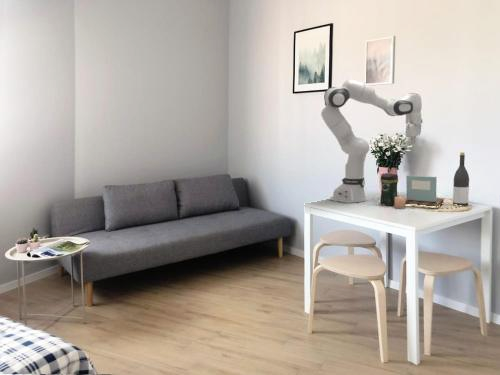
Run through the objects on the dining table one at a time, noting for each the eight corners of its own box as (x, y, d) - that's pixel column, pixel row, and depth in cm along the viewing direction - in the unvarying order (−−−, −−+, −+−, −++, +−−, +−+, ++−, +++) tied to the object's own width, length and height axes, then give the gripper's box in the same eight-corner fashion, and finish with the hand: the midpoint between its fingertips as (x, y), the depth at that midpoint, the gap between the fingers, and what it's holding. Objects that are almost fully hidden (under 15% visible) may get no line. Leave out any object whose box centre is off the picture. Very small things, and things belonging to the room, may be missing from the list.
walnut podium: (404, 206, 267) (404, 193, 266) (411, 201, 280) (412, 188, 279) (436, 209, 257) (437, 195, 256) (443, 203, 270) (443, 190, 269)
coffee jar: (400, 204, 271) (400, 173, 268) (391, 206, 267) (392, 174, 264) (386, 202, 279) (387, 171, 276) (378, 204, 275) (378, 173, 272)
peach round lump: (395, 208, 261) (395, 198, 260) (393, 206, 267) (394, 196, 266) (406, 209, 260) (406, 198, 259) (404, 206, 266) (404, 196, 265)
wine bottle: (458, 206, 261) (460, 153, 256) (449, 203, 269) (451, 152, 264) (471, 205, 263) (473, 152, 258) (462, 202, 271) (464, 151, 266)
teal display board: (407, 199, 268) (406, 199, 267) (407, 175, 265) (406, 175, 264) (436, 201, 259) (435, 201, 258) (436, 176, 256) (435, 177, 255)
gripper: (414, 121, 269) (413, 145, 271) (423, 120, 286) (422, 142, 288) (403, 121, 272) (402, 145, 275) (412, 120, 289) (412, 142, 291)
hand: (412, 143), depth 281 cm, fingers closed
